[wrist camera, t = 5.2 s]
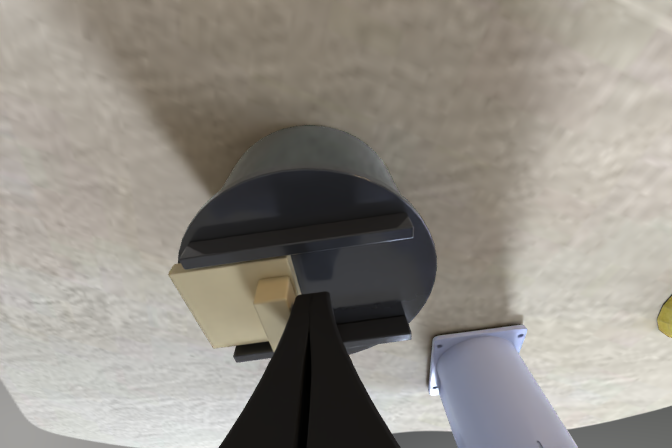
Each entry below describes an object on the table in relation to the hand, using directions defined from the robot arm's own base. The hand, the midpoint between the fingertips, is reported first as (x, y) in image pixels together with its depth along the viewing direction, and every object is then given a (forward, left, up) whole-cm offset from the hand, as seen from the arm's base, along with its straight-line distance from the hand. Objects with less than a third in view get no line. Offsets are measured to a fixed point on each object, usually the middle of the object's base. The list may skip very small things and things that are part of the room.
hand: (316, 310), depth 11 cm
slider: (0, +3, -1) cm, 3 cm away
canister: (0, 0, -8) cm, 8 cm away
